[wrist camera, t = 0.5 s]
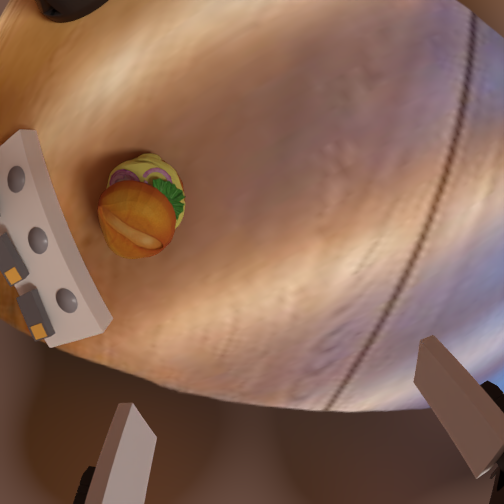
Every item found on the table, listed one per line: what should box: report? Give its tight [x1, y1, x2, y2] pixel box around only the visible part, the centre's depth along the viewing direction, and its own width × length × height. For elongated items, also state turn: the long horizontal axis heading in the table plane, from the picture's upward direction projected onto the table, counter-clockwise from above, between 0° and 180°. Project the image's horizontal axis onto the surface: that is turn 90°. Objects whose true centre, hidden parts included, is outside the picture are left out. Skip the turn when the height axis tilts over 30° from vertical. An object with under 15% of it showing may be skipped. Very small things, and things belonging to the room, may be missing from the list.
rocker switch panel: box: [0, 129, 113, 348], centre depth 33 cm, size 30×12×4 cm, turn 19°
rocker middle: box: [0, 232, 30, 287], centre depth 29 cm, size 7×4×2 cm, turn 19°
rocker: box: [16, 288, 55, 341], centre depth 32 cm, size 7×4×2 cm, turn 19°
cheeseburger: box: [97, 153, 185, 259], centre depth 31 cm, size 10×11×10 cm
